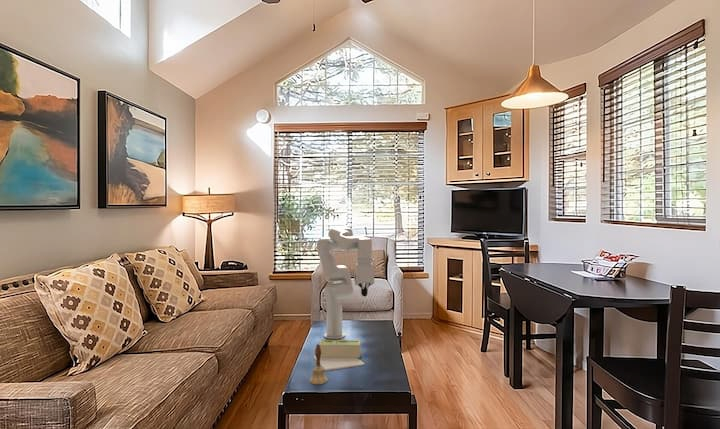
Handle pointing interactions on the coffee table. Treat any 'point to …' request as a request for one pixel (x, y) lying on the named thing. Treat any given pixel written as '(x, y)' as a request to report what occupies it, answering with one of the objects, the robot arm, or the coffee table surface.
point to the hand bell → (318, 369)
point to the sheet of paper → (338, 362)
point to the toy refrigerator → (340, 348)
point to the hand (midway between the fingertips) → (364, 295)
